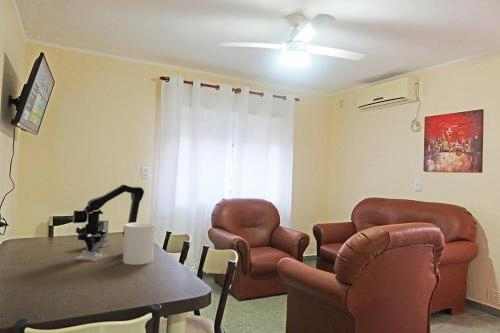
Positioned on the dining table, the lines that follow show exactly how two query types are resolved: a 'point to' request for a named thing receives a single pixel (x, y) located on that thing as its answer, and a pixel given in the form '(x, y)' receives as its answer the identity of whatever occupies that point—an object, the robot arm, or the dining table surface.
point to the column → (93, 247)
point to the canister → (138, 243)
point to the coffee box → (104, 239)
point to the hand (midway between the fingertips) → (92, 249)
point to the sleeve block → (91, 255)
